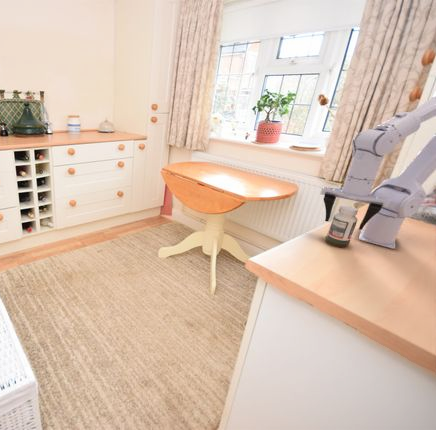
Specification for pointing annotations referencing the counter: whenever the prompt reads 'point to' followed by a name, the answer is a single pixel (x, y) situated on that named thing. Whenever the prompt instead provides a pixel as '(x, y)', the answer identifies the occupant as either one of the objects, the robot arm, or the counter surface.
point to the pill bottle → (343, 223)
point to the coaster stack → (336, 242)
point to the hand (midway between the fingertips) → (343, 224)
